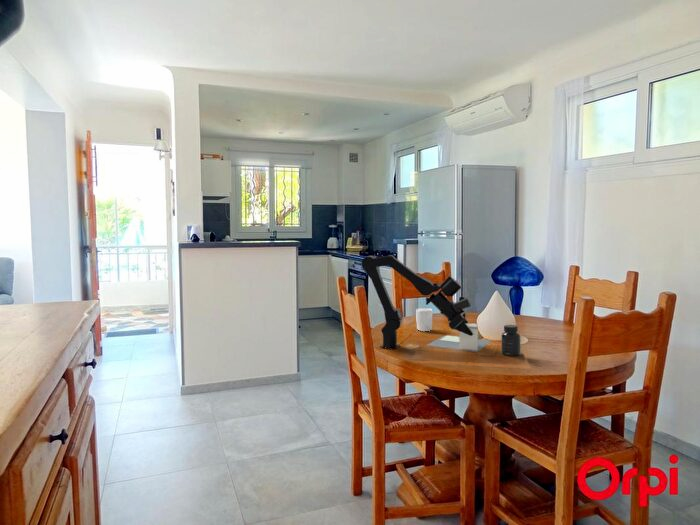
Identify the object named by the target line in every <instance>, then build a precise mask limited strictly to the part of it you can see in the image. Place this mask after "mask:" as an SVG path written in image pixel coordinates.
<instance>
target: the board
mask: <svg viewBox="0 0 700 525" xmlns="http://www.w3.org/2000/svg"><path fill="white" fill-rule="evenodd" d="M491 342H492V340H489V339H481V338H480V339H479V338H478V350H465V349H459V336H454V335H443V336H441V337H439V338H437V339H435V340H433V341H431V342H430V343H428V344H427V345H426V346H428V347H435V348H442V349H448V350H449V349H450V350H457V351H458V350H459V351H468V352H475V353H478V352H479V351H481V350H482V349H484V348H485V347H486V346H487V345H488V344H490V343H491Z"/></svg>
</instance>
